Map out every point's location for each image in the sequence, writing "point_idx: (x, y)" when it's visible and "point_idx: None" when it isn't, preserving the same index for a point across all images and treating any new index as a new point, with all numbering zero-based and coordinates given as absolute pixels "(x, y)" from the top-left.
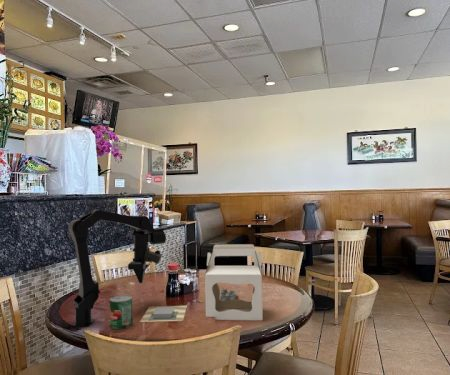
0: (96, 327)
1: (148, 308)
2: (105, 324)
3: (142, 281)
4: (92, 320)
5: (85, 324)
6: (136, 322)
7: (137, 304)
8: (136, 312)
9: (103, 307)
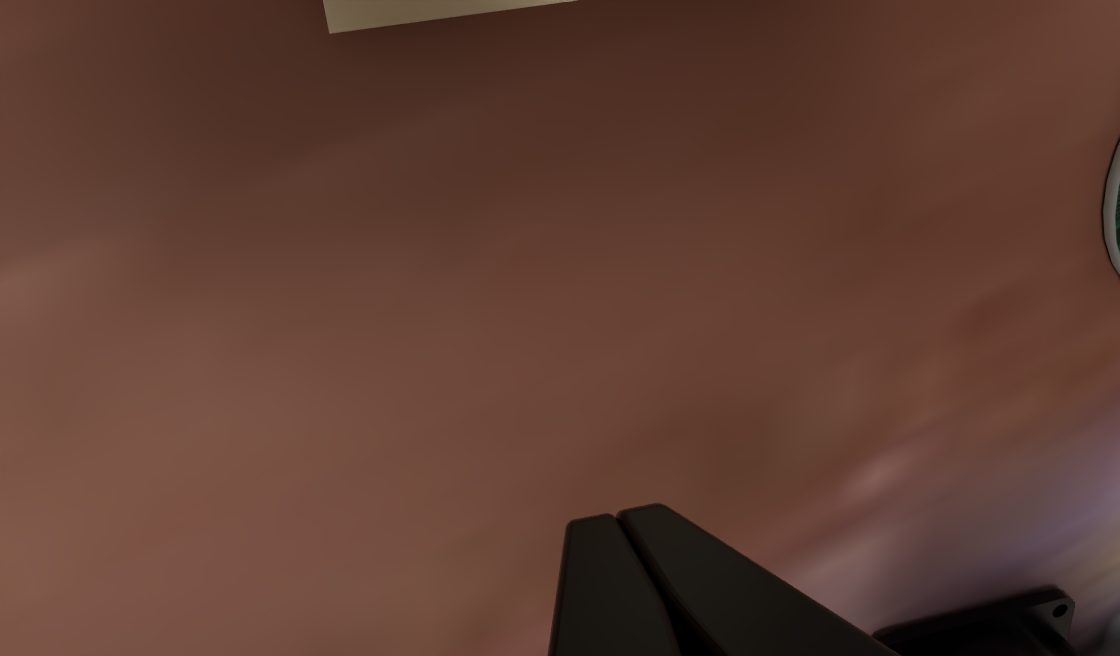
0: (1106, 491)
1: (470, 6)
2: (1031, 444)
3: (655, 533)
4: (932, 643)
5: (1048, 637)
6: (1055, 22)
7: (5, 427)
8: (533, 234)
9: None
